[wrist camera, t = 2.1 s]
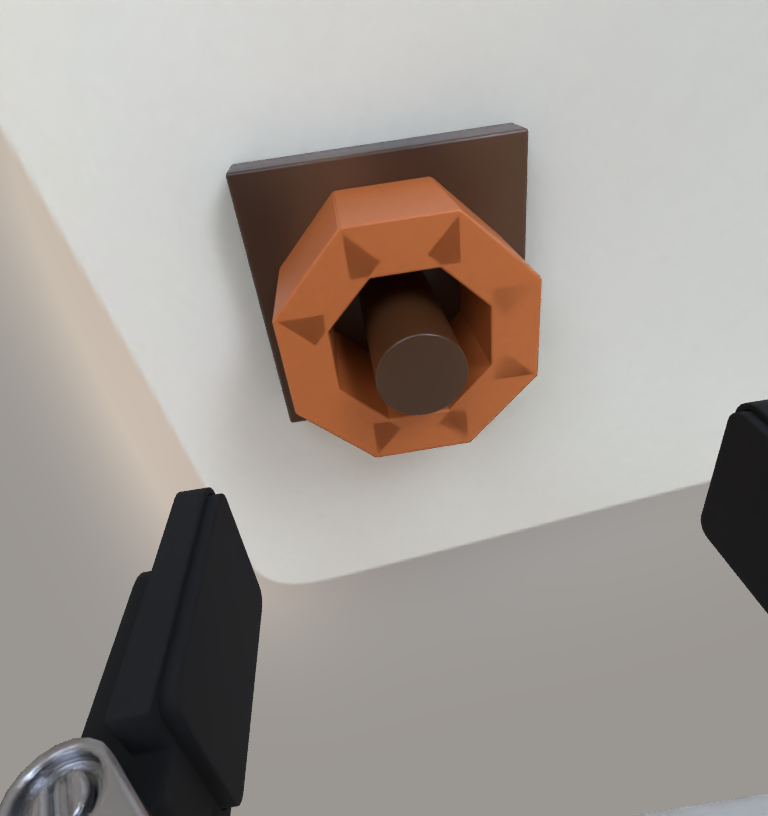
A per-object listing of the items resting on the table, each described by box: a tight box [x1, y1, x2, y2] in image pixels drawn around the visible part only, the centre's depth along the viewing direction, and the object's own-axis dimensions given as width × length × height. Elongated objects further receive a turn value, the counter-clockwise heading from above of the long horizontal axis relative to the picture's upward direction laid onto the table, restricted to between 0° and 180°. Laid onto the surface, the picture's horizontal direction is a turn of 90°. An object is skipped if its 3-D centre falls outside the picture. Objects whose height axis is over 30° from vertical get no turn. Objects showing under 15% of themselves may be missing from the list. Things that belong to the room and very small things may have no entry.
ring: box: [272, 177, 541, 457], centre depth 17 cm, size 7×7×4 cm
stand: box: [226, 123, 528, 422], centre depth 17 cm, size 9×9×7 cm
